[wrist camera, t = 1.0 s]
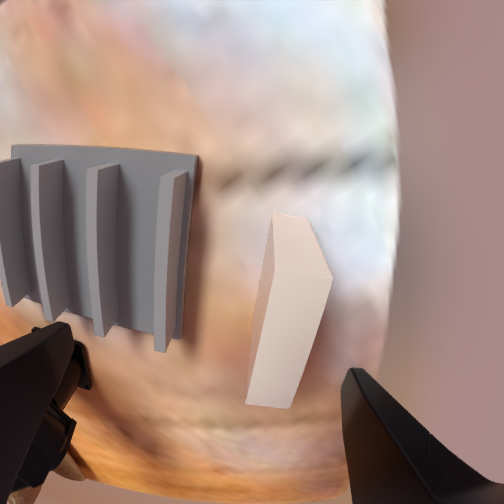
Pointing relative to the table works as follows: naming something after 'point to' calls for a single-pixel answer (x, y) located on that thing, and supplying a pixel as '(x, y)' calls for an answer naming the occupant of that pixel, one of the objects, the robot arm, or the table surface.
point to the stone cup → (26, 497)
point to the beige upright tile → (286, 311)
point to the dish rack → (98, 234)
